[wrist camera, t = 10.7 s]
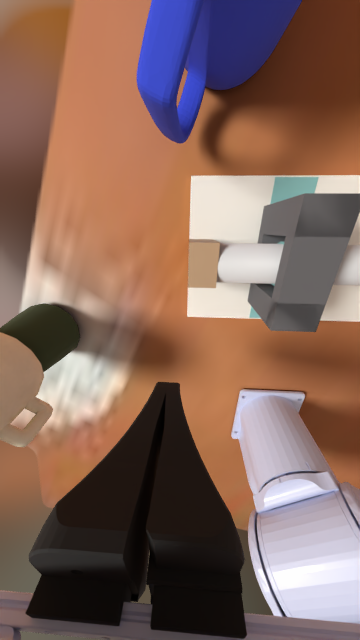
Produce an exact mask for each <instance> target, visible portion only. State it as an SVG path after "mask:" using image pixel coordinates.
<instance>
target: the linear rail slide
mask: <svg viewBox="0 0 360 640" xmlns="http://www.w3.org/2000/svg"><path fill="white" fill-rule="evenodd" d="M305 193H360V175H319V176H191V202H190V238H189V263H188V309H187V317H218V318H252V319H261V317H260V316H259V315H258V314H257V312H256V311H255V310H254V309H253V307H252V306H251V305H250V304H249V302H248V295H249V289H250V284H251V283H265V284H272V285H273V286H274V285H275V281H276V277H277V272H278V268H279V264H280V259H281V255H282V251H283V246H284V242H279V243H277V244H257V243H258V238H259V232H260V226H261V220H262V215H263V209H264V206H266V205H270V204H273V203H276V202H279V201H282V200H285V199H289V198H292V197H295V196H298V195H301V194H305ZM320 320H321V321H355V322H360V213H359V216H358V218H357V221H356V224H355V226H354V229H353V232H352V235H351V237H350V240H349V243H348V245H347V248H346V251H345V254H344V256H343V259H342V262H341V264H340V267H339V270H338V273H337V275H336V278H335V281H334V284H333V286H332V289H331V292H330V294H329V297H328V300H327V303H326V305H325V308H324V311H323V313H322V316H321V319H320Z"/></svg>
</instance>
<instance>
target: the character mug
mask: <svg viewBox="0 0 360 640" xmlns="http://www.w3.org/2000/svg"><path fill="white" fill-rule="evenodd" d="M79 339H80V335H79V330H78V325H77V324H76V322H75V321H74V319H73V318H72V316H71V315H70V314H69V313H67V312H66V311H64V310H63V309H61V308H60V307H58V306H53V305H48V304H39V305H35V306H31V307H29V308H28V309H26V310H25V311H23V312H21V313H20V314H18V315H17V316H16V317H14V318H13V319H12V320H10V321H9V322H8V323H6V324H5V325H4V326H2V327H1V328H0V440H2V441H5V442H7V443H9V444H11V445H14V446H16V447H25V446H26V445H28V444H29V443H30V442H31V441H32V440H33V439H34V438H35V436H36V435H37V434H38V432H39V431H40V430H41V428H42V427H43V426H44V424H45V423H46V422H47V420H48V419H49V418H50V416H51V414H52V412H53V408H52V407H51V406H50V405H49V404H48V403H46V402H44V401H42V400H40V399H38V398H36V397H35V396H36V395H37V394H38V392H39V389H40V386H41V384H42V381H43V378H44V374H43V372H44V371H46V370H47V369H49V368H50V367H51V366H53V365H54V364H55V363H57V362H58V361H60V360H61V359H62V358H63V357H65V356H66V355H67V354H68V353H70V352H71V351H72V350H73V349H75V348H76V347H77V345H78V342H79ZM24 408H25V409H27V410H29V411H31V412H33V413H35V414H36V415H35V416H34V417H33V418H32V420H31V421H30V422H29V423H28V424H27V426H26V427H25V428H24V429H23V430H21V429H19V428H17V427H15V426H13V425H11V424H10V423H11V422H12V421H13V420H14V419H15V418H16V417H17V416H18V415H19V414H20V413H21V411H22V410H23V409H24Z"/></svg>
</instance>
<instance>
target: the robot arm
mask: <svg viewBox="0 0 360 640" xmlns="http://www.w3.org/2000/svg"><path fill="white" fill-rule="evenodd" d="M304 398H305V395H304V393H303V392H293V391H271V390H248V389H243V390H241V391H240V393H239V398H238V403H237V408H236V413H235V418H234V423H233V428H232V433H231V435H232V438H234V439H239V442H240V446H241V451H242V455H243V459H244V464H245V468H246V472H247V477H248V481H249V484H250V487H251V490H252V492H253V494H254V495H253V499H254V503H255V507H256V509H254V510H253V511H252V512H251V514H250V518H249V528H248V540H249V548H250V554H251V559H252V563H253V567H254V570H255V574H256V577H257V580H258V582H259V585H260V588H261V590H262V593H263V595H264V597H265V599H266V601H267V603H268V605H269V606H270V608H271V610H272V612H273V614H274V616H270V615H260V614H249V613H244V610H243V602H242V595H241V593H242V583H241V577H240V571H241V568H242V566H243V564H244V553H243V549H242V545H241V542H240V538H239V535H238V532H237V530H236V527H235V524H234V521H233V519H232V516H231V513H230V512H229V510H228V508H227V506H226V505H225V503H224V501H223V500H222V498H221V496H220V494H219V492H218V491H217V489H216V487H215V485H214V483H213V481H212V479H211V478H210V475H209V473H208V471H207V469H206V467H205V465H204V463H203V461H202V459H201V457H200V455H199V452H198V450H197V448H196V445H195V443H194V440H193V438H192V435H191V432H190V430H189V427H188V424H187V421H186V417H185V414H184V410H183V406H182V402H181V396H180V384H179V383H169V382H158V383H156V386H155V388H154V390H153V392H152V394H151V396H150V397H149V399H148V401H147V403H146V404H145V406H144V407H143V409H142V411H141V412H140V414H139V415H138V417H137V418H136V419H135V421H134V422H133V424H132V425H131V427H130V428H129V429H128V431H127V432H126V433H125V434H124V436H123V437H122V438H121V439H120V441H119V442H118V443H117V444H116V445H115V446H114V447H113V449H112V450H111V451H110V452H109V453H108V454H107V455H106V456H105V458H104V459H103V460H102V461H101V462H100V463H99V464H98V465H97V466H96V467H95V468H94V469H93V470H92V471H91V472H90V473H89V474H88V475H87V476H86V477H85V478H84V479H83V480H82V481H81V482H80V483H78V484H77V485H76V486H75V487H74V488H73V489H72V490H71V491H70V492H68V493H67V494H66V495H65V496H64V497H63V498H62V499H61V500H60V501H58V502H57V504H56V505H55V507H54V508H53V510H52V512H51V513H50V515H49V517H48V519H47V520H46V522H45V524H44V525H43V527H42V529H41V531H40V534H39V535H38V537H37V540H36V542H35V543H34V545H33V548H32V550H31V552H30V553H29V561H30V563H31V564H32V565H33V566H34V567H35V568H36V569H37V570H38V571H39V572H40V573H41V574H42V576H41V578H40V581H39V583H38V585H37V587H36V590H35V592H34V593H24V592H14V591H3V590H0V640H21V634H20V631H25V632H35V633H45V634H54V635H64V636H74V637H84V638H94V639H104V640H360V489H358V488H356V487H354V486H352V485H351V484H350V483H348V482H344V483H340V482H339V481H338V480H337V478H336V477H335V475H334V473H333V471H332V470H331V468H330V466H329V465H328V463H327V461H326V459H325V458H324V456H323V454H322V453H321V451H320V449H319V448H318V446H317V444H316V442H315V441H314V439H313V437H312V436H311V434H310V432H309V430H308V429H307V427H306V425H305V424H304V422H303V420H302V419H301V417H300V415H299V410H300V408H301V405H302V403H303V400H304ZM149 550H150V556H149ZM148 556H149V557H148ZM148 558H149V564H148ZM147 568H148V572H147ZM146 578H147V580H146ZM146 584H147V585H149V588H150V593H151V604H141V603H131V601H134V602H138V599H139V598H140V597H141V595H142V594H143V592H144V591H145V587H146Z"/></svg>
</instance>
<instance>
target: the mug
mask: <svg viewBox="0 0 360 640" xmlns="http://www.w3.org/2000/svg"><path fill="white" fill-rule="evenodd" d="M301 2H302V0H152V2H151V7H150V11H149V15H148V19H147V24H146V28H145V32H144V37H143V43H142V48H141V53H140V58H139V63H138V70H137V85H138V89H139V92H140V94H141V97H142V99H143V101H144V103H145V105H146V107H147V109H148V111H149V113H150V115H151V117H152V119H153V120H154V122H155V124H156V125H157V127H158V128H159V130H160V131H161V132H162V133H163V134H164V135H165V136H166V137H167V138H169V139H170V140H172V141H174V142H176V143H184V142H185V141H186V140H187V139H188V137H189V135H190V133H191V131H192V128H193V126H194V123H195V121H196V118H197V115H198V112H199V109H200V105H201V102H202V99H203V95H204V90H205V87H208V88H211V89H215V90H226V89H230V88H234V87H236V86H238V85H240V84H242V83H243V82H245V81H246V80H248V79H249V78H250V77H252V76H253V75H254V74H255V73H256V72H257V71H258V70H259V69H260V68H261V66H262V65H263V64H264V63H265V62H266V60H267V59H268V58H269V56H270V55H271V53H272V52H273V50H274V49H275V47H276V45H277V44H278V42H279V40H280V38H281V37H282V35H283V33H284V31H285V30H286V28H287V26H288V24H289V23H290V21H291V19H292V17H293V16H294V14H295V12H296V10H297V9H298V7H299V5H300V3H301ZM184 68H185V69H186V70H187V71H188V74H187V79H186V82H185V86H184V89H183V93H182V96H181V99H180V102H179V105H178V108H177V106H176V101H177V94H178V89H179V85H180V82H181V78H182V75H183V71H184Z"/></svg>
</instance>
